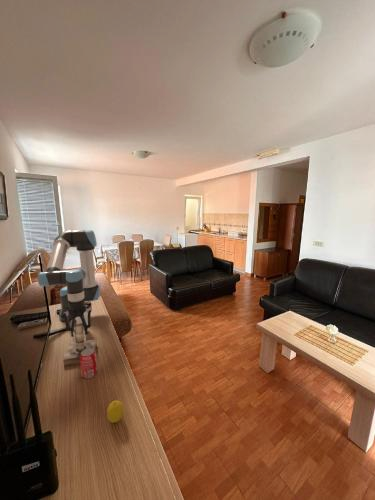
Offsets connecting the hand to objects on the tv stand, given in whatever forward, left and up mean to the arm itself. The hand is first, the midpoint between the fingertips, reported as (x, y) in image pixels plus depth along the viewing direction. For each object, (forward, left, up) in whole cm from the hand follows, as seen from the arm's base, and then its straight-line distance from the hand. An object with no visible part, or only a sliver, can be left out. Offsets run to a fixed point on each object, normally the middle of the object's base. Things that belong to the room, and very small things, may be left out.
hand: (80, 340), depth 112 cm
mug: (-24, -4, -8) cm, 26 cm away
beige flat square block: (0, 0, -8) cm, 8 cm away
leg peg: (0, 0, -5) cm, 5 cm away
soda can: (+17, +6, -8) cm, 20 cm away
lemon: (+45, +18, -8) cm, 49 cm away
